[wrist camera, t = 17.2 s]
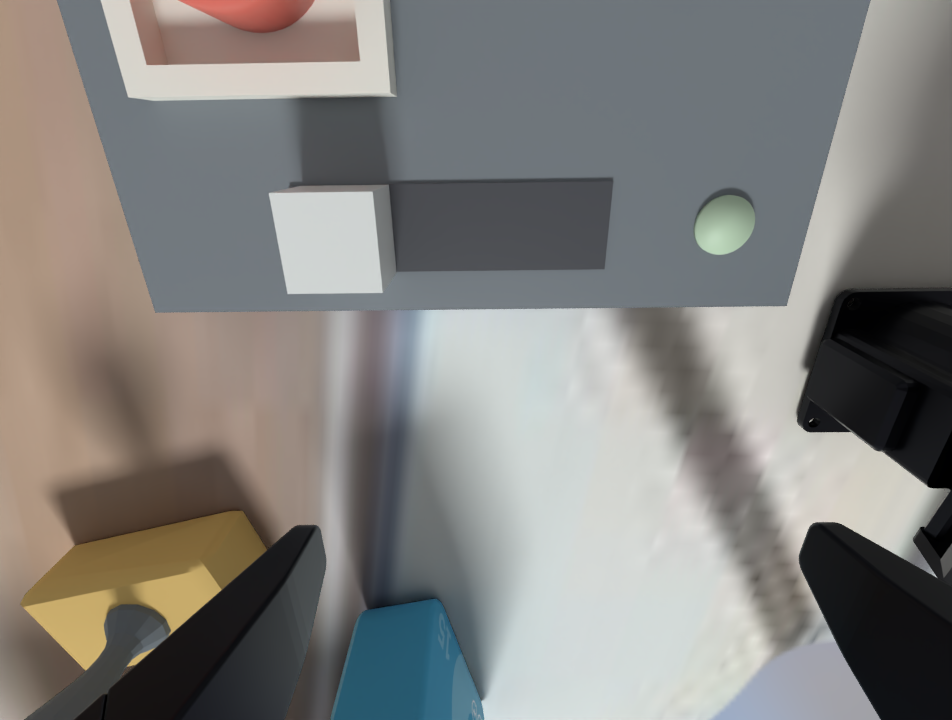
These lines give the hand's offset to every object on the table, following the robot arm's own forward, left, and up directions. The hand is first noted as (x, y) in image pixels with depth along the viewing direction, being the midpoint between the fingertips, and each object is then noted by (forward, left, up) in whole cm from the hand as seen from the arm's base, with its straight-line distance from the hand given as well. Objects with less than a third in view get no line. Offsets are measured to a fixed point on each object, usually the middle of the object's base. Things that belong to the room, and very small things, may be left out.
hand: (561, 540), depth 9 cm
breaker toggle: (+6, -4, -10) cm, 13 cm away
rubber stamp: (+18, +14, -12) cm, 26 cm away
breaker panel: (+2, -9, -12) cm, 15 cm away
